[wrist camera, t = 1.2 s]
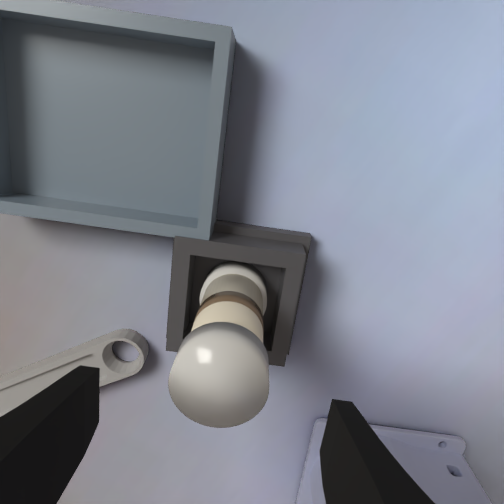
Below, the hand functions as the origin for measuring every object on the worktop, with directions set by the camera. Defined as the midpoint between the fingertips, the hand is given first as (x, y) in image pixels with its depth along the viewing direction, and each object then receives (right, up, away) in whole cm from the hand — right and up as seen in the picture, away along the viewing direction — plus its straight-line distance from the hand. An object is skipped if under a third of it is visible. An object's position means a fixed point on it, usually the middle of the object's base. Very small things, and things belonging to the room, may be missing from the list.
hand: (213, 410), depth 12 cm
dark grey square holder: (0, +3, +9) cm, 10 cm away
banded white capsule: (0, +3, +9) cm, 9 cm away
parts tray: (-6, +11, +7) cm, 14 cm away
